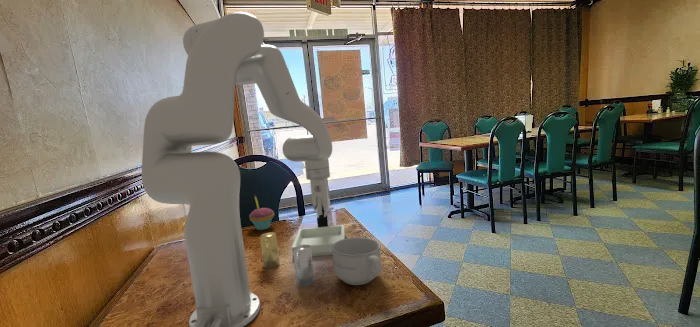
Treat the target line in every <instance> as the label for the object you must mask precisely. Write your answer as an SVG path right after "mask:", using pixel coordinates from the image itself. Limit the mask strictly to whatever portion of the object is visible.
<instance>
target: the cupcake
mask: <svg viewBox="0 0 700 327" xmlns="http://www.w3.org/2000/svg"><path fill="white" fill-rule="evenodd" d="M253 196H254V200H255V204H256V209H254V210H253V211H252V212H250V213H249V215H248V216H249V217H248V218H249V220H250V222H252V223H253V225H254V227H255V230H258V231H264V230H268V229H269V228H271V223H272V219H273V218H274V217H275V211H274V210H273V209H272V208H269V207H260V206H259V200H258V198H257V196H256V195H255V194H254V195H253Z"/></svg>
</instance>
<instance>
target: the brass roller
mask: <svg viewBox="0 0 700 327" xmlns="http://www.w3.org/2000/svg"><path fill="white" fill-rule="evenodd" d="M259 239H260V247H261V254H262V264H263V268H264V269H271V270H272V269H275V268H277V267H279V266H280V262H281V261H280V255H279V247H278V246H279V245H278V238H277V233H276V232H275V231H274V232H265V233H262V234H261V235H259Z"/></svg>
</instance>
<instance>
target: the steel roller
mask: <svg viewBox="0 0 700 327" xmlns="http://www.w3.org/2000/svg"><path fill="white" fill-rule="evenodd" d="M293 255H294V258H293V262H294V264H293V265H294V272H295V279H296V280H295V282H296V286H298V287H300V288H304V287H310V286H312V285H313V284H314V283H315V274H314V273H315V272H314V271H315V270H314V263H313V256H312V252H311V246H310V245H299V246H296V247H294V248H293V253H292V256H293Z"/></svg>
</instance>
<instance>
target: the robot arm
mask: <svg viewBox="0 0 700 327" xmlns="http://www.w3.org/2000/svg"><path fill="white" fill-rule="evenodd" d="M264 30H265V29H264V26H263V24H262V22H261V20H259V18H257V17H256V16H255V15H253V14H251V13H248V12H243V11H238V12H237V11H236V12H230V13H228V14H225V15H222V16H220V17H219V18H217V19H214V20H210V21H206V22H202V23H201V22H200V23H198V24H194V25H192V26H190V27H189V28H187V29H186V31H184V35H183V36H182V37H183V39H182V44H183V48H184V51H185V53H186V55H187V59H186V61H185V62H186V63H185V71H184V76H183V77H184V78H183V87H182V92H181V93H180V94H179V95H176V96H175V95H174V96H167V97H165V98H162V99H159V100H157V101H156V102H155V103H154V104H152V105H151V107H150V108H149V110H148V112H147V114H146V116H145V118H144V119H145V121H144V126H143V127H144V128H143V137H142V138H143V140H142V141H143V143H142V154H141V155H142V157H141V158H142V159H141V180H142V181H141V182H142V186H143V189H144V191H145V192H146V194H147V196H148V197H149V198H151V199H152V200H153V201H154V202H155V201H156V202H158V203H161V204H165V205H166V204H168V205H187V206H189V210H188V214H187V217H186V220H185V222H184V229H183V231H184V233H183V234H184V240H185V246H186V247H185V248H186V252H187V259H188V264H189V265H188V266H189V271H190V276H191V283H192V288H193V289H192V290H193V295H194V296H193V297H194V301H195V307H196V309H195V310H194V311H193V312H192V314H191V315H190V317H189V319H188V320H189V321H188V325H189V327H245V326H247V325H248V324H249V323H250V322H252V321H254V319H255V318H256V316H257V315H258V314H259V312H260V309H261V301H260V298H259V296H258V295H256V294H254V293H253V292H251V290H250V282H249V275H248V268H247V261H246V252H245V246H244V245H245V244H244V237H243V232H242V225H241V224H242V223H241V217H240V215H241V214H240V213H241V211H240V193H241V191H240V189H241V171H240V168H239V166H238V164H237V162H236V161H235V160H234V159H233V158H232V157H230V156H228V155H227V154H225V153H223V152H217V151H192V147H194V146H195V147H196V146H208V145H209V146H210V145H217V144H220V143H223V142H226V141H227V140H228V139H229V138H230V136H231V135H232V132H233V128H234V120H235V118H234V116H235V113H234V112H235V95H236V94H235V93H236V92H235V88H236V85H238V86H245V85H252V84H256V86H257V87H258V89H259V91H260V94H261V96H262V99H263V100H264V101H265V102H264V103H265V104H266V107H267V108H268V111H269V113H270V114H271V115H273V116H275V117H276V118H279V119H282V120H285V121H287V122H291V123H294V124H295V125H298V126H300V127H302V128H303V129H305V130H307V131H308V132H309V134H306V135H294V136H290V137H288V138H287V139H286V140H285V141H284V142H283V144H282V154H283V156H284V158H285V159H287V160H289V161H291V162H296V163H297V162H304V167H305V175H306V176H305V178H306V179H305V180H307V181H309V182H310V193H311V200H312V201H311V202H312V203H311V204H312V209H313V210H314V211H316V223H317V227H327V226H329V225H328V224H329V222H328V215H327V210H329V209H330V206H331V198H330V188H329V183H328V179H329V178H330V177H331V172H330V161H329V158H330V157H331V156H332V153H333V142H332V139H331V135H330V132H329V129H328V126H327V124H326V123H325V121H324V119H323V118H322V117H321V116H320V114H318V113H317V112H316V111H315V110H314V109H313V108H312V107H311V106H309V105H308V104H306V103H305V102H303V100H302V99H301V98H300V97H299V94H298V90H297V89H296V86H295V83H294V81H293V79H292V76H291V73H290V71H289V67H288V65H287V62H286V60H285V58H284V56H283V54H282V51H281V50H280V49H279V48H278V47H276V46H274V45H271V44H263V43H264V39H265V31H264Z"/></svg>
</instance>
